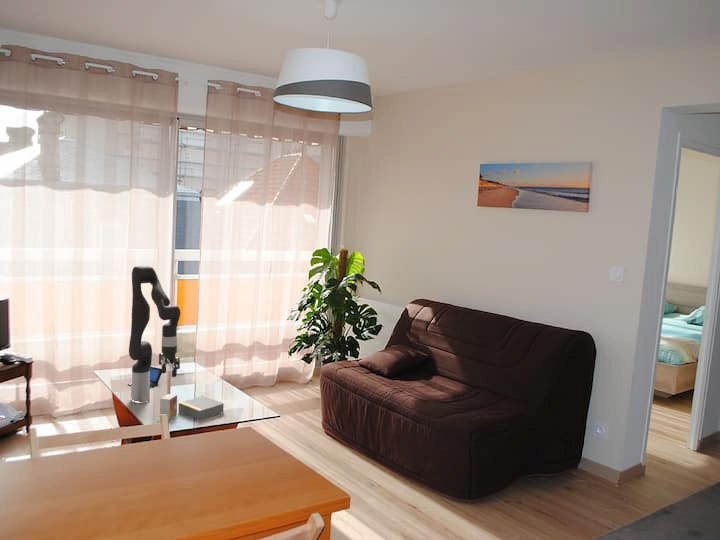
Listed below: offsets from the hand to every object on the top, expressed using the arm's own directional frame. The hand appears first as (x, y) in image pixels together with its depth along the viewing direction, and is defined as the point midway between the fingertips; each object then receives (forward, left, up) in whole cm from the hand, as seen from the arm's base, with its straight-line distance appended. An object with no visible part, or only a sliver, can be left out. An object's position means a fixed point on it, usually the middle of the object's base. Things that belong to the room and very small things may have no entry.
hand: (169, 374), depth 312 cm
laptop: (-52, +21, -23) cm, 61 cm away
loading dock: (+7, +15, -22) cm, 28 cm away
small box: (0, 0, -22) cm, 22 cm away
